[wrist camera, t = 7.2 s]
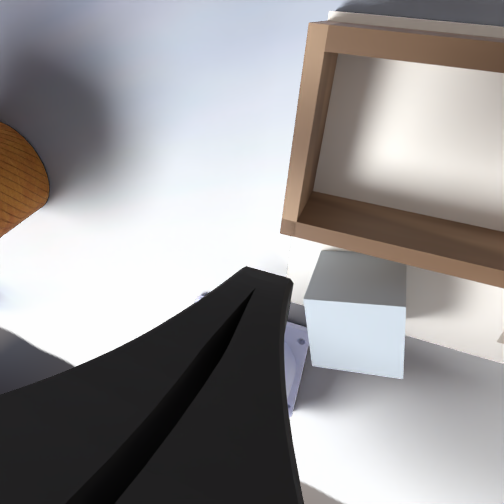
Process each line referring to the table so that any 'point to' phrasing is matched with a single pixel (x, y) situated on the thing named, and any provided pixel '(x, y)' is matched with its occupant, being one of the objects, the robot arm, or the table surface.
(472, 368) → the table surface
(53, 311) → the table surface
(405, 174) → the deck
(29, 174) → the disposable coffee cup
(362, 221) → the walnut cubby
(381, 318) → the white block
